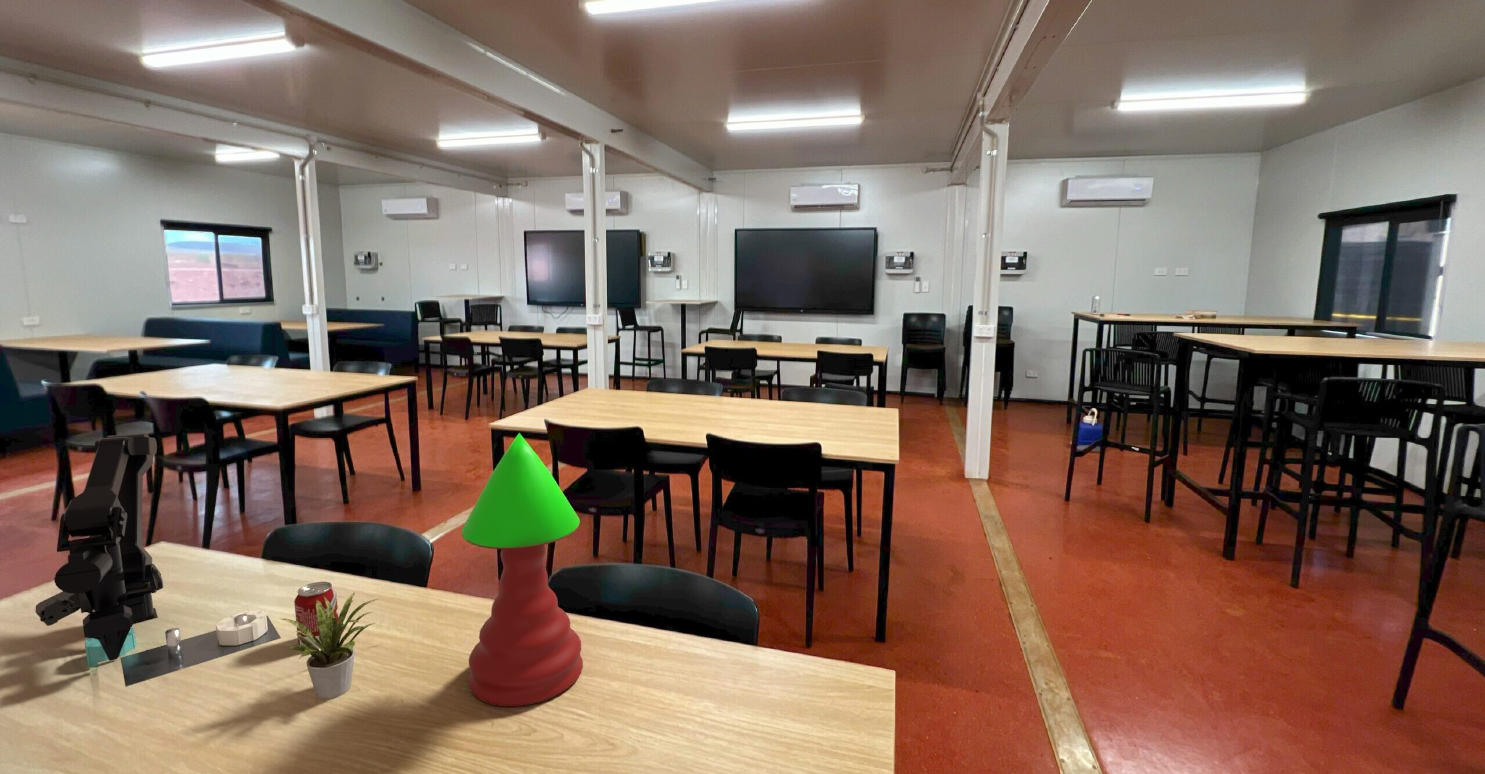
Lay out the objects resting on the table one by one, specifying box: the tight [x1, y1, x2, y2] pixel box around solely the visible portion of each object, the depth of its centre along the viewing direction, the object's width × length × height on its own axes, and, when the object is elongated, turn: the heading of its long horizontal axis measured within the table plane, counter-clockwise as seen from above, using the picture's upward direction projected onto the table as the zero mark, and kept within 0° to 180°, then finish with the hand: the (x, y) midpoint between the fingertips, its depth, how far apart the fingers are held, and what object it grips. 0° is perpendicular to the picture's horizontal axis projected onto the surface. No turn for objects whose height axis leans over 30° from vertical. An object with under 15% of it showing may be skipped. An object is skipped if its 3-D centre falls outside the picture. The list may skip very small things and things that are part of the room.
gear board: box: [120, 614, 282, 687], centre depth 122 cm, size 12×22×6 cm, turn 136°
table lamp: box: [460, 432, 584, 707], centre depth 115 cm, size 20×20×45 cm
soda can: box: [293, 581, 339, 650], centre depth 125 cm, size 7×7×12 cm
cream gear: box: [215, 610, 268, 646], centre depth 127 cm, size 8×8×3 cm
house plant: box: [279, 592, 378, 700], centre depth 112 cm, size 14×14×16 cm
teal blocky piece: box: [84, 627, 137, 668], centre depth 121 cm, size 7×7×4 cm
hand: (112, 649), depth 121 cm, fingers open, 9 cm apart
